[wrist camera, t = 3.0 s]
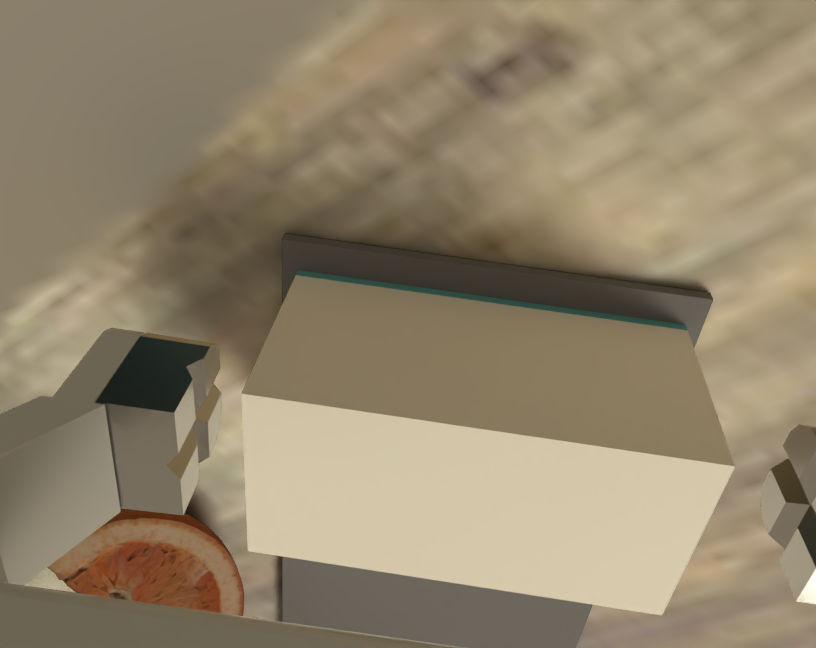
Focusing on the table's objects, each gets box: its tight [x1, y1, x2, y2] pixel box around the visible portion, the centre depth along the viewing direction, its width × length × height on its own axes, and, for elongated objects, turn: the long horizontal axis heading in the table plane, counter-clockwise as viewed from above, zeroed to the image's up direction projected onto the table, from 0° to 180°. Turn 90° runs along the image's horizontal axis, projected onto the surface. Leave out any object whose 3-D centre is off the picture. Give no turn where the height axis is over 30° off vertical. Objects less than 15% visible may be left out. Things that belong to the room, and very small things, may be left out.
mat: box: [282, 233, 713, 648], centre depth 29 cm, size 13×24×1 cm, turn 174°
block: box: [241, 270, 735, 615], centre depth 22 cm, size 12×6×6 cm, turn 84°
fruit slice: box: [47, 508, 244, 616], centre depth 30 cm, size 8×7×5 cm
